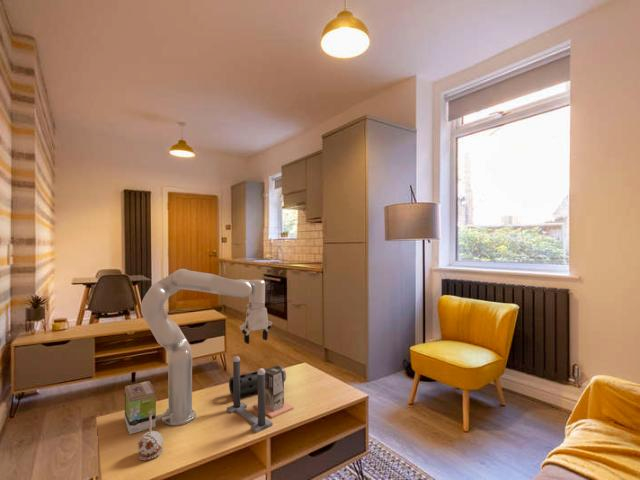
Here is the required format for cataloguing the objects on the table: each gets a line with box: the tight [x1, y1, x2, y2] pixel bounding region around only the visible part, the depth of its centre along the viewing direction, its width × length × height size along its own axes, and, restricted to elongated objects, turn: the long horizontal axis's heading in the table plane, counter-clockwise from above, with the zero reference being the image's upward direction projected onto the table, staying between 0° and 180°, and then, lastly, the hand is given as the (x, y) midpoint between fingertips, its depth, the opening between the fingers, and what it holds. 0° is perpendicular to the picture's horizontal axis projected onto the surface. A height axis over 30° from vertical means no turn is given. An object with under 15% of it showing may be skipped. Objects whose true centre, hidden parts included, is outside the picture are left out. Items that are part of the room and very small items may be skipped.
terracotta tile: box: [253, 401, 295, 419], centre depth 153 cm, size 12×15×1 cm
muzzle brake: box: [228, 365, 287, 397], centre depth 171 cm, size 10×28×10 cm, turn 124°
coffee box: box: [265, 366, 285, 411], centre depth 153 cm, size 9×6×16 cm
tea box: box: [124, 380, 157, 435], centre depth 141 cm, size 15×10×15 cm, turn 37°
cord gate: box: [226, 355, 274, 434], centre depth 144 cm, size 8×25×24 cm, turn 42°
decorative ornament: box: [137, 412, 163, 461], centre depth 119 cm, size 8×8×15 cm
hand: (256, 341), depth 158 cm, fingers open, 9 cm apart
